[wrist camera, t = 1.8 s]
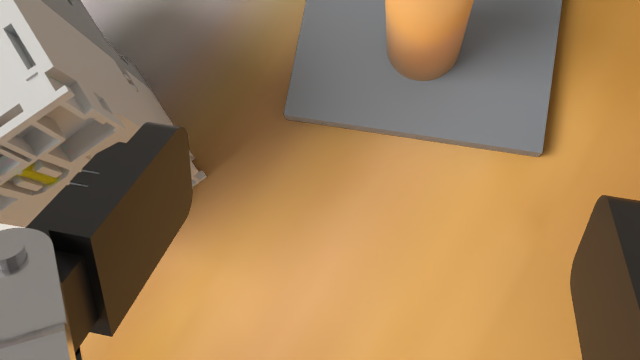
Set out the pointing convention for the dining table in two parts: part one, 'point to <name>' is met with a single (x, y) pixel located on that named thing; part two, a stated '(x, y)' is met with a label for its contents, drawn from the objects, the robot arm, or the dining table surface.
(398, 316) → the dining table surface
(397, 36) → the wooden peg
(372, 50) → the lockout board
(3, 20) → the circuit breaker
